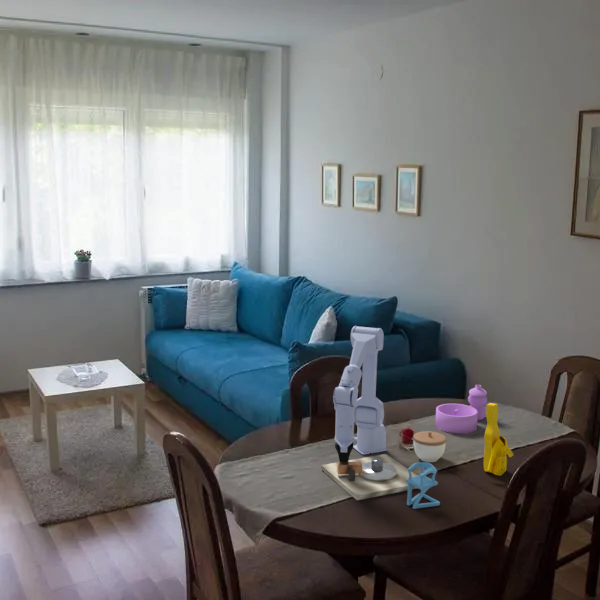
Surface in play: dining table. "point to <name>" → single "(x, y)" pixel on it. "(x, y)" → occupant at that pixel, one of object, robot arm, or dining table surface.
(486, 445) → the figure statuette
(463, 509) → the dining table surface
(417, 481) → the blue abstract sculpture
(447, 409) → the container set
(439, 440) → the lidded jar
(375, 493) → the base board
